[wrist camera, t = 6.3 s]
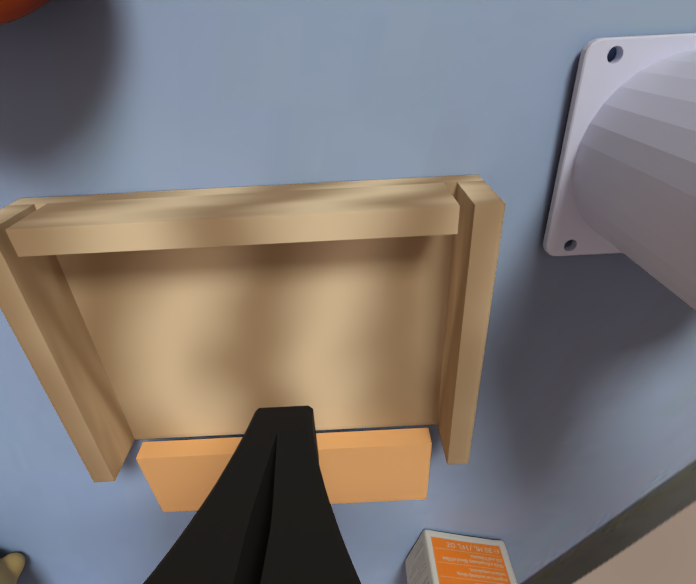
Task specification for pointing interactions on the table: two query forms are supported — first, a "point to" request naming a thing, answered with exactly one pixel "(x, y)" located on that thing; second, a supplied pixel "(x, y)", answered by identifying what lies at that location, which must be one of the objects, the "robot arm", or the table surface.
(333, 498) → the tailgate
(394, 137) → the table surface
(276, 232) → the tray
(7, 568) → the tan toy animal
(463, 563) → the skincare box
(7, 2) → the fruit
